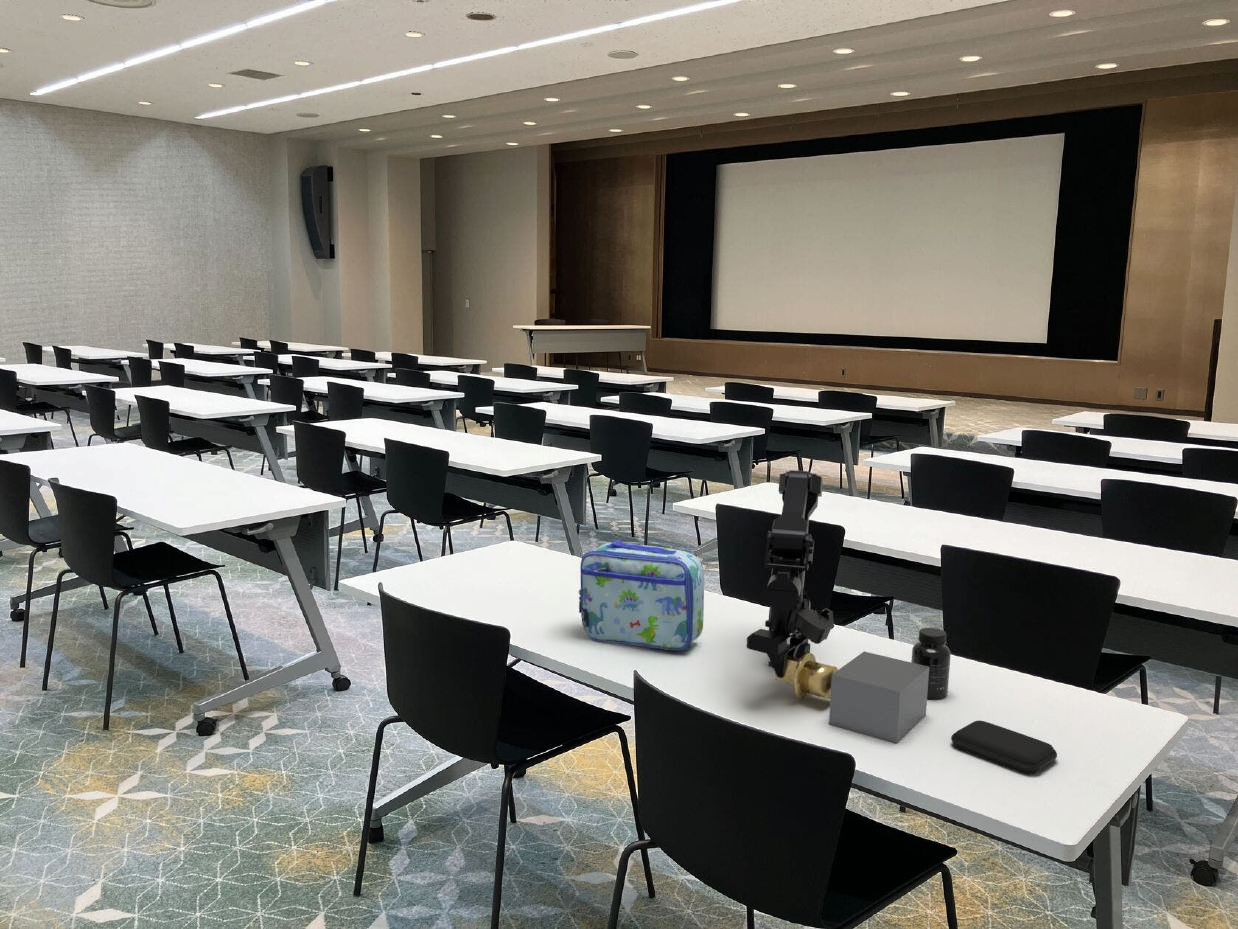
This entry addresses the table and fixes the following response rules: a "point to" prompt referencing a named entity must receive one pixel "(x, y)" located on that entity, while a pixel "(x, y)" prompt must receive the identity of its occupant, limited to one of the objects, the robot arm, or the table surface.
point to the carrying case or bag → (1004, 747)
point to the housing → (879, 696)
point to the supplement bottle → (933, 660)
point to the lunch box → (642, 596)
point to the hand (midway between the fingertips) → (783, 675)
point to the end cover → (808, 676)
